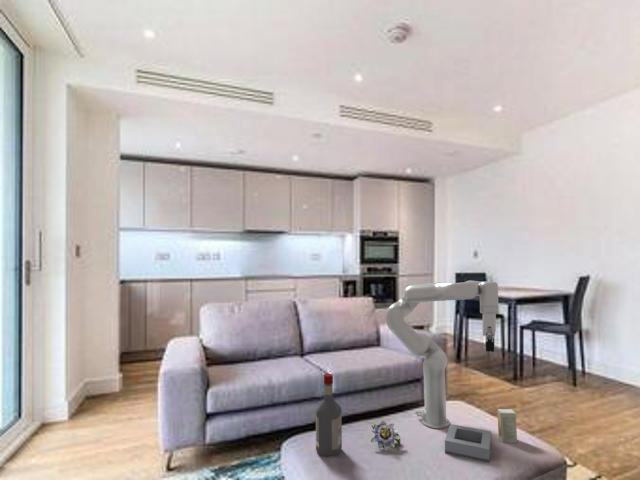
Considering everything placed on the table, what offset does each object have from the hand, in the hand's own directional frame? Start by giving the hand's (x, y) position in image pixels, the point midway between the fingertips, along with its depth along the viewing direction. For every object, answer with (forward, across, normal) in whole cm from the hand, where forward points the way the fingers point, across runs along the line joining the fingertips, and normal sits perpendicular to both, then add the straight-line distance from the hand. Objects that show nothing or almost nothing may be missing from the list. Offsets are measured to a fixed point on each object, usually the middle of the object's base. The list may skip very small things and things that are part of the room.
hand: (490, 348), depth 168 cm
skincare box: (+37, +4, +6) cm, 38 cm away
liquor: (+37, +43, -59) cm, 82 cm away
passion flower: (+37, +29, -40) cm, 61 cm away
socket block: (+37, +18, -9) cm, 42 cm away
